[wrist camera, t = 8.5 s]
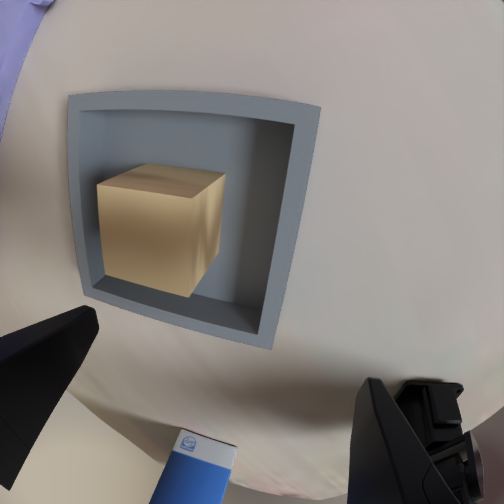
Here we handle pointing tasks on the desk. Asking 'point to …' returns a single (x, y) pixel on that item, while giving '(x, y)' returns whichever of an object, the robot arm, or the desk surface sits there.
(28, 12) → the lavender slotted plate
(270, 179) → the tray
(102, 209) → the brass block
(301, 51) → the desk surface
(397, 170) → the desk surface
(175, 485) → the string lights box
